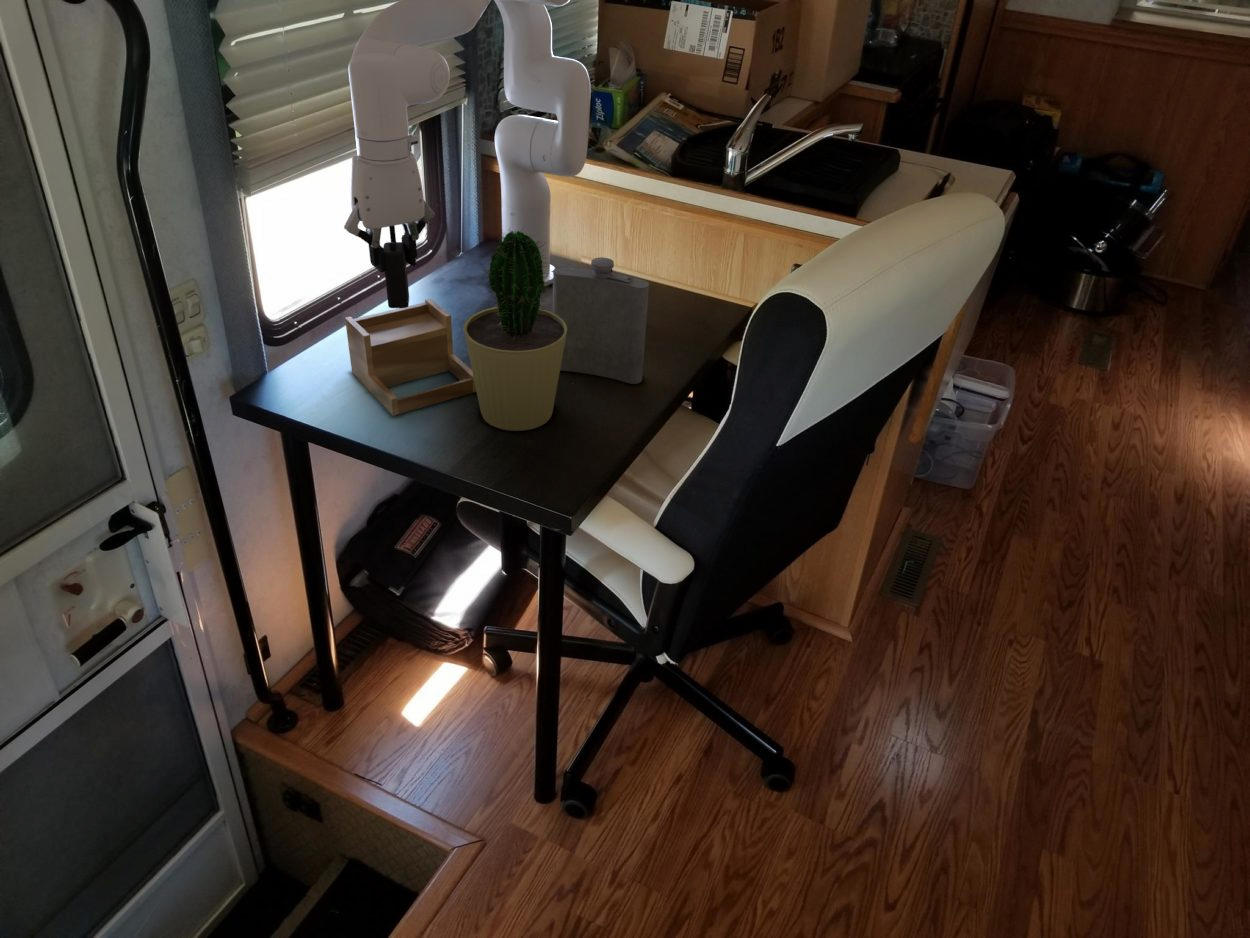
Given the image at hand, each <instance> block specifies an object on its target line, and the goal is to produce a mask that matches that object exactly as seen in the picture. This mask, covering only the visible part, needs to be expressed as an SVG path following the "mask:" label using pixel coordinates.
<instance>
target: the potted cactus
mask: <svg viewBox="0 0 1250 938" xmlns="http://www.w3.org/2000/svg"><path fill="white" fill-rule="evenodd" d="M523 228H524V227H523ZM507 230H508V229H507ZM509 230H510V229H509ZM522 230H523V229H522ZM522 230H521V233H520V232H519V231H517V233H516V232H515V234H514V232H513V231H512V232H510V233H508V234H506V235H505V237H502V236H503V234H502V233H503V232H502V231H501V235H500V234H498V235H497V236H496V238H497V239H498V240H497V239H496V241H498V242H497V243H496V245H497V247H496V248H495V249H494V251H491V253H492V254H491V257H490V258H489V256H486V259H487V260H488V261H489V268H486V269H484V272H483V273H482V275H484V279H485V280H486V279H487V280H488V283H487V284H486V285H485V287H486V288H488V290H489V292H487V293H486V294H487V295H488V294H489V293H491V294H490V297H493V300H494V299H495V300H494V302H493V304H491V306H492V307H490V308H489V307H488V308H485V309H483V310H480V311H478V312H475V313H474V314H472V315H470V316H469V317H468V318H467V319H466V320H465V321H464V323H463V326H462V330H463V334H464V336H465V343H466V347H467V352H468V357H469V361H470V368H471V370H472V372H473V377H474V382H475V386H476V391H477V392H476V395H477V396H476V397H477V401H478V406H479V410H480V414H481V416H482V418H483V420H484V421H485V422H486V423H487V424H488V425H490V426H492V427H494V428H497V429H500V430H504V431H513V432H520V431H521V432H522V431H528V430H529V431H530V430H533V429H537V428H539V427H541V426H543V425H544V424H546V423H548V421H550V420H551V418H552V416H553V413H554V406H555V401H556V400H555V399H556V395H557V390H558V385H559V379H560V378H559V377H560V374H561V373H560V372H561V371H560V367H561V362H562V356H563V351H564V346H565V340H566V333H567V326H566V324H565V322H564V321H563V320H562V319H561V318H560V317H559V316H557V315H555V314H554V313H553V311H552V312H551V311H549V310H547V309H544V308H545V306H544V305H542V307H543V308H541V303H542V302H545V300H543V299H542V295H546V294H547V293H545V292H548V291H549V290H551V287H550V286H549V285H553V283H546V282H545V283H544V280H543V270H542V267H547V266H542V260H541V256H542V255H541V253H540V252H539V251H540V250H539V249H538V247H537V245H536V244H538V242H539V241H538V242H534V240H532V239H531V238H532V236H531V238H530V237H529V236H527V235H524V234H523V232H522ZM503 231H504V230H503ZM508 232H509V231H508ZM504 234H505V233H504ZM525 234H526V233H525ZM527 234H528V233H527ZM530 234H531V233H530ZM503 238H504V239H503ZM502 240H503V242H502ZM498 243H499V244H498ZM541 243H542V242H541ZM538 245H539V244H538ZM543 246H544V245H543ZM541 247H542V246H541ZM539 248H540V247H539ZM545 250H546V249H545ZM542 252H543V251H542ZM542 257H544V256H542ZM543 259H547V258H543ZM544 263H546V262H544ZM484 273H485V274H486V275H485V274H484ZM544 273H545V272H544ZM546 279H547V278H546ZM544 284H549V285H547V286H544ZM485 287H484V288H485Z"/></svg>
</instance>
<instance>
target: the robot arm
mask: <svg viewBox="0 0 1250 938" xmlns="http://www.w3.org/2000/svg"><path fill="white" fill-rule="evenodd" d="M491 1H492V0H398V1H396V2H395V3H392V4H391V5H389V6H387V7H386V8H384V9H383V10H381V11H380V12H378V13H377V14H376V15H375V17H374V18H373V19H372V20H370V22H369V24H368V25H367V27H366V28H365V30H364V31H363V32H362V34H361V36H360V37H359V38H358V40H357V42H356V44H355V46H354V48H353V51H352V55H351V58H350V60H349V61H348V66H347V67H348V69H347V70H348V81H349V88H350V89H349V90H350V99H351V108H352V117H353V126H354V133H355V144H356V153H357V154H356V155H353V156H352V157H351V163H350V187H349V188H350V207H351V208H350V209H351V212H350V214H349V216H348V217H347V219H346V221H345V223H344V225H343V228H344V230H345V231H346V232H348V233H349V234H351V235H353V236H355V237H358V238H359V239H360V240H363V241H364V242H365V243H367V244H368V252H369V261H370V264H371V265H372V266H373V267H374V268H375V269H376V270H377V271H378V272H380V273H385V271H386V268H385V258H384V249H383V247H384V246H382V245H381V235H382V230H383V229H382V228H388V227H389V226H399V225H401V227H402V230H403V235H401V242H402V243H404V246H405V257H406V264H408V265H410V266H412V267H414V266H416V265H417V261H416V258H418V247H417V246H418V245H417V241H418V240H419V239H420V234H421V233H422V232H423V230H424V229H425V228H426V226H427V224H428V223H429V222H430V221H431V220H433V218H434V217H435V216H436V214H435V212H434V210H433V208H431V207H430V206H429V204H428V203H427V202H426V201H425V199H424V198H425V197H424V190H423V184H422V178H421V173H420V170H419V166H418V163H417V158H416V155H415V154H414V153H413V151H412V149H413V148H412V147H413V146H415V145H418V144H419V139H418V136H417V134H411V133H410V129H409V128H410V127H409V116H408V107H409V106H412V105H425V104H429V103H433V102H435V101H437V100H439V99H440V98H442V96H443V95H444V94H445V93H446V91H447V90H448V88H449V84H450V79H451V72H450V71H451V70H450V66H449V64H448V62H447V60H446V58H445V57H444V56H443V55H442V54H441V53H439V52H438V51H436V50H434V49H432V48H429V47H425V46H420V45H424V44H427V43H432V42H433V43H434V42H437V41H438V42H439V41H445V40H449V39H452V38H457V37H459V36H463V35H465V34H467V33H469V32H470V31H472V30H473V29H474V28H475V27H476V25H477V24H478V22H479V20H480V19H481V17H482V16H483V14H484V12H485V11H486V10H487V7H488V6H489V5H490V3H491ZM570 1H571V0H493V2H494V3H495V4H496V6H497V8H498V10H499V12H500V13H499V14H500V17H501V19H502V24H503V90H504V95H505V98H506V100H507V101H508V103H510V104H511V105H513V106H515V107H517V108H520V109H526V110H531V111H537V112H542V113H549V114H554V115H555V116H556V118H557V119H556V120H555V119H554V120H553V119H548V118H546V117H545V118H544V117H537V116H533V115H527V114H526V115H525V114H512V115H511V114H510V115H508V116H506V117H504V118H503V119H501V120H500V121H499V122H498V124H497V126H496V128H495V131H494V132H495V133H494V149H495V154H496V158H497V163H498V167H499V177H500V190H501V191H500V193H501V194H500V195H501V197H500V198H501V238H502V237H505V235H506V234H508V233H510V232H512V231H513V232H514V234H515V232H516V233H517V231H519V232H520V233H521V230H522V229H523V230H522V232H523V234H524V235H527V236H529V237H530V238H531V236H532V238H531V239H532V240H534V242H538V241H539V242H538V244H539V245H538V244H536V245H537V247H538V249H539V250H540V251H539V252H540V253H541V255H542V256H544V257H542V256H541V260H542V266H547V267H542V270H543V280H544V283H545V282H546V283H552V284H553V270H554V269H555V268H556V267H555V266H554V265H552V264H551V201H552V200H551V199H552V198H551V189H550V185H549V182H548V180H547V178H546V176H545V174H547V175H553V176H556V177H557V176H558V177H565V178H572V177H576V176H577V175H579V174H580V173H581V172H582V171H583V169H584V166H585V163H586V160H587V156H588V155H587V154H588V145H589V129H590V111H591V79H590V76H589V72H588V70H587V68H586V66H585V65H584V64H583V63H582V62H580V61H578V60H576V59H573V58H568V57H561V56H557V55H556V56H555V55H554V54H553V25H552V21H551V17H550V13H549V12H548V9H547V7H546V6H549V7H563V6H565V5H567V4H568V3H569V2H570ZM360 222H362V225H363V227H364V228H365V230H364V229H363V228H361V227H359V224H360ZM523 227H524V228H523ZM507 229H508V230H507ZM509 229H510V230H509ZM503 230H504V231H503ZM508 231H509V232H508ZM502 232H503V233H502ZM504 233H505V234H504ZM525 233H526V234H525ZM527 233H528V234H527ZM530 233H531V234H530ZM502 234H503V236H502ZM503 239H504V238H503ZM501 240H502V239H501ZM501 242H503V240H502V241H501ZM541 242H542V243H541ZM543 245H544V246H543ZM541 246H542V247H541ZM539 247H540V248H539ZM545 249H546V250H545ZM542 251H543V252H542ZM543 258H547V259H543ZM544 262H546V263H544ZM544 272H545V273H544ZM546 278H547V279H546ZM549 285H550V284H544V287H545V286H549Z"/></svg>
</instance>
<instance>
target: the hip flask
mask: <svg viewBox="0 0 1250 938" xmlns="http://www.w3.org/2000/svg"><path fill="white" fill-rule="evenodd" d="M614 262H615V261H614V260H613V259H611V258H608V257H602V256H601V257H594V258H592V259H591V262H590V263H591V264H590V265H591V266H590V267H591V268H592V269H588V268H579V267H567V266H558V267H555V269H554V270H553V283H552V313H554V314H555V315H557V316H559V317H560V318H561V319H562V320H563V321H564V322H565V324H566V326H567V333H566V340H565V346H564V351H563V356H562V362H561V367H560V372H570V373H571V372H573V373H580V374H586V375H587V374H588V375H593V376H597V377H598V376H599V377H603V378H608V379H612V380H615V381H620V382H624V383H627V384H631V385H635V384H636V385H637V384H640V383H642V381H643V374H644V373H643V371H644V361H645V360H644V359H645V345H646V334H647V333H646V330H647V319H648V306H649V305H648V304H649V294H650V293H649V292H650V282H648V281H647V280H645V279H642V278H637V277H633V276H630V275H626V274H622V273H618V272H614V271H613V269H614V267H615V266H614V265H615V263H614Z"/></svg>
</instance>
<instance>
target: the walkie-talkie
mask: <svg viewBox="0 0 1250 938" xmlns="http://www.w3.org/2000/svg"><path fill="white" fill-rule="evenodd" d="M395 226H396V225H395ZM395 226H389V228H388V229H389V238H390V241H387V242H384V244H383V246H382V247H383V249H384V258H385V268H386V271H385V272H384V279H385V289H386V297H387V306H388V308H389V309H398V308H406V307H408V306H410V305H409V304H410V290H409V279H408V270H407V262H406V257H405V246H404V243H402V241H397V236H396V227H395Z"/></svg>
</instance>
